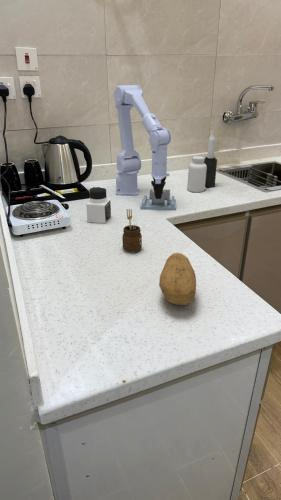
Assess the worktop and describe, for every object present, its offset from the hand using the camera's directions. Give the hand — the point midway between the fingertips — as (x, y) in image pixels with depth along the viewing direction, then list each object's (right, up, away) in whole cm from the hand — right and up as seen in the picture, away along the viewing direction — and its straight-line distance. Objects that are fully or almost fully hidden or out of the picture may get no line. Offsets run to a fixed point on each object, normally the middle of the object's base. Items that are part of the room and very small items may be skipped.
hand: (158, 196), depth 143 cm
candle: (+25, +9, +26) cm, 37 cm away
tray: (0, -3, +2) cm, 4 cm away
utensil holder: (-10, -21, -33) cm, 41 cm away
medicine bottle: (-23, -10, -11) cm, 27 cm away
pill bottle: (+18, +6, +20) cm, 28 cm away
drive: (0, -3, +1) cm, 3 cm away
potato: (+1, -33, -57) cm, 66 cm away
